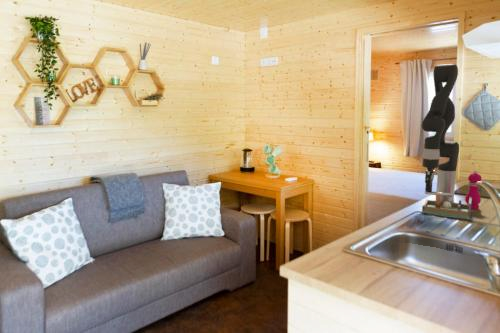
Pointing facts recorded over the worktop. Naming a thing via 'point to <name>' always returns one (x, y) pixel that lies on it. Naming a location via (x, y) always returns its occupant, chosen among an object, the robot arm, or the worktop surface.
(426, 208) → the tray
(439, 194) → the grey brown angular piece
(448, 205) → the ball
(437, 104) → the robot arm
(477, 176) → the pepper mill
